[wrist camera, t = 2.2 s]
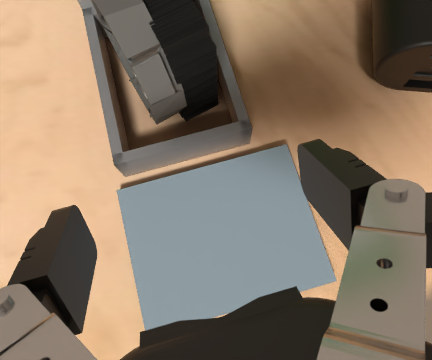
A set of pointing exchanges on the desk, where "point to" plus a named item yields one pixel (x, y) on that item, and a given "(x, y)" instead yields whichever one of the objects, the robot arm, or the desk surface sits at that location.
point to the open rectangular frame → (177, 147)
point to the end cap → (403, 44)
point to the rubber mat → (221, 237)
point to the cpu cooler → (164, 54)
